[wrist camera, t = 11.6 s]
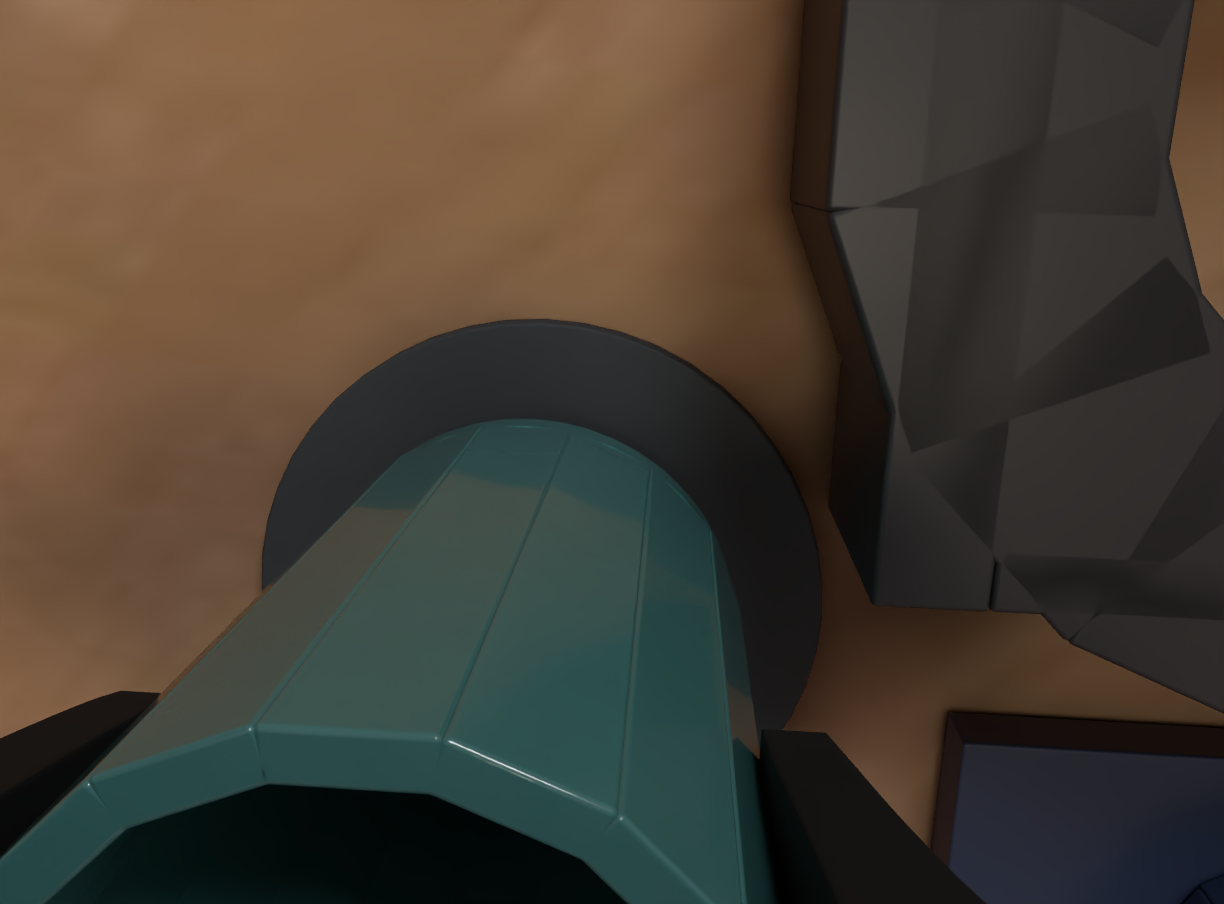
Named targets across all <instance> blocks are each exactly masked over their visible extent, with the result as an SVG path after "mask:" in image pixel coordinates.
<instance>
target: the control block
mask: <svg viewBox="0 0 1224 904" xmlns="http://www.w3.org/2000/svg"><path fill="white" fill-rule="evenodd" d="M931 851H932V852H933V853H934V854H935V855H936V856H937V857H938V858H939V859H940V860H941V861H942V862H943V863H944V864H945V865H946V866H947V867H948V868H949V869H950V870H951V871H952V872H953V873H954V874H955V875H956V876H957V877H958V878H960V879H961V880H962V881H963V882H964V883H965V884H966V885H967V886H968V887H969V888H970V889H971V890H972V891H973V892H975V893H976V894H977V895H978V896H979V897H980V898H981V899H982V900H983V901H984V902H985V903H987V904H1224V728H1207V727H1190V726H1173V725H1155V724H1138V723H1121V722H1104V721H1087V720H1070V719H1053V718H1035V717H1018V716H1001V715H984V714H967V713H949V715H948V723H947V731H946V739H945V746H944V754H943V762H942V770H941V778H940V786H939V794H938V802H937V810H936V818H935V826H934V834H933V842H932V850H931Z"/></svg>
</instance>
